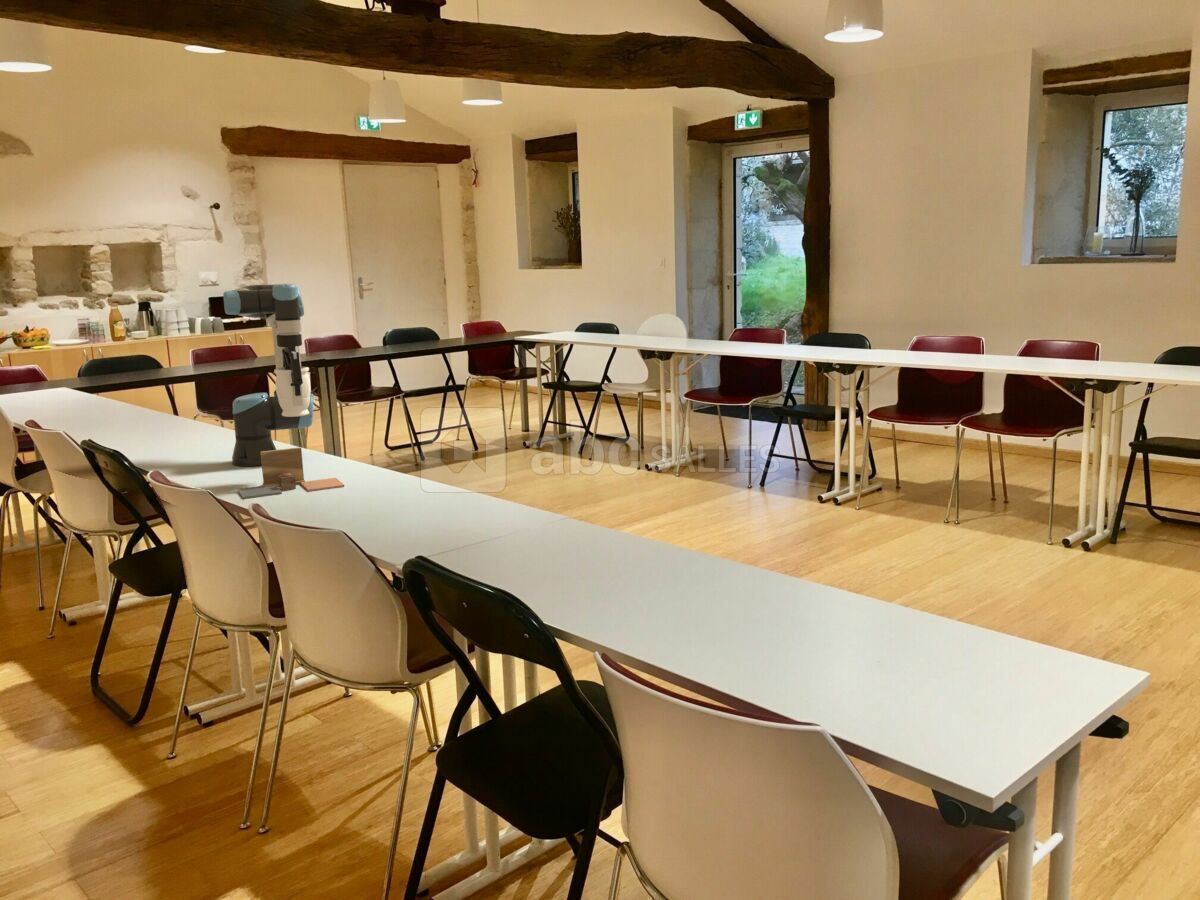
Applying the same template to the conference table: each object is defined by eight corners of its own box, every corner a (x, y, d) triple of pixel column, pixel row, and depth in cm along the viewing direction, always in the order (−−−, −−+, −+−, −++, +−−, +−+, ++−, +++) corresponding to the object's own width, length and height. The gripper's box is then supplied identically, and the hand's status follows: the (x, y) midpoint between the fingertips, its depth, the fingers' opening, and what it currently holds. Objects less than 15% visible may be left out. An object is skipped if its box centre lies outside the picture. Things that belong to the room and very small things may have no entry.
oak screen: (262, 485, 310) (259, 450, 308) (301, 480, 316) (299, 446, 314) (265, 488, 306) (262, 453, 304) (305, 483, 312) (302, 449, 309)
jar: (317, 412, 322) (313, 365, 319) (305, 417, 312) (301, 370, 309) (285, 412, 323) (281, 366, 320) (273, 417, 313) (268, 370, 310)
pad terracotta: (300, 484, 311) (300, 482, 311) (335, 479, 316) (335, 477, 316) (308, 491, 301) (308, 489, 301) (344, 486, 306) (344, 484, 306)
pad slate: (237, 491, 304) (237, 489, 304) (274, 486, 309) (274, 484, 309) (243, 498, 294) (243, 496, 294) (281, 493, 299) (281, 491, 299)
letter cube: (280, 487, 307) (278, 473, 306) (293, 486, 308) (292, 472, 307) (282, 490, 303) (281, 476, 302) (295, 488, 305) (294, 474, 304)
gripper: (269, 331, 320) (275, 399, 325) (283, 337, 301) (289, 409, 305) (293, 330, 324) (299, 397, 329) (308, 335, 304) (314, 407, 309)
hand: (294, 403), depth 317 cm, fingers closed on jar, 10 cm apart
